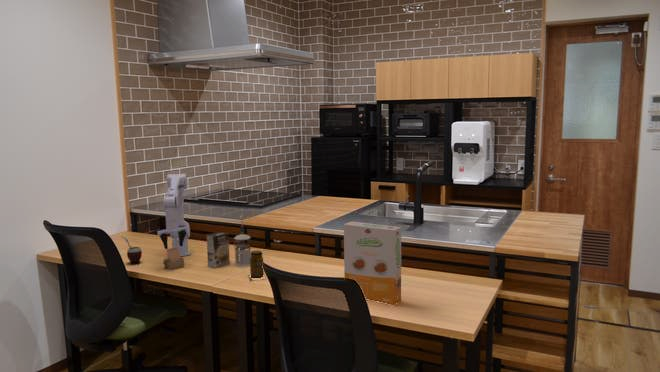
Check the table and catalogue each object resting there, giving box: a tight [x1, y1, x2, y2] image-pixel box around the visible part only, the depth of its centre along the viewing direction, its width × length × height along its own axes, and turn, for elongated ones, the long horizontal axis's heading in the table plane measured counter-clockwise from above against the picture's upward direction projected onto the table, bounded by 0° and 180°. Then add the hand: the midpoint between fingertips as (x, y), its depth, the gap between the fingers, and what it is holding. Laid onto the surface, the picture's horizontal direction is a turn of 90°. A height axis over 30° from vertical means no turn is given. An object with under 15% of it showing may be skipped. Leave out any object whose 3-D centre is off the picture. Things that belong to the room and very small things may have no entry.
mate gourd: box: [121, 235, 143, 266], centre depth 263 cm, size 8×8×15 cm
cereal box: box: [343, 221, 402, 306], centre depth 206 cm, size 22×6×30 cm, turn 56°
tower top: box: [163, 257, 185, 267], centre depth 255 cm, size 7×7×2 cm
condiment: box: [248, 250, 265, 281], centre depth 236 cm, size 7×8×12 cm
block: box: [166, 247, 181, 261], centre depth 254 cm, size 4×4×5 cm
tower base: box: [164, 263, 185, 271], centre depth 255 cm, size 7×7×2 cm
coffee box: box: [206, 231, 231, 269], centre depth 257 cm, size 9×6×16 cm
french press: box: [233, 215, 252, 268], centre depth 258 cm, size 10×12×25 cm
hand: (173, 247), depth 254 cm, fingers open, 7 cm apart
